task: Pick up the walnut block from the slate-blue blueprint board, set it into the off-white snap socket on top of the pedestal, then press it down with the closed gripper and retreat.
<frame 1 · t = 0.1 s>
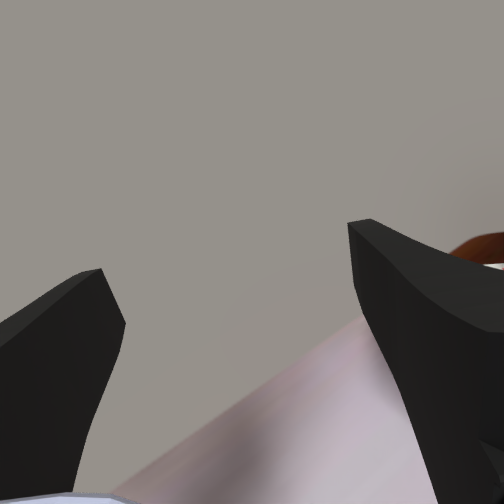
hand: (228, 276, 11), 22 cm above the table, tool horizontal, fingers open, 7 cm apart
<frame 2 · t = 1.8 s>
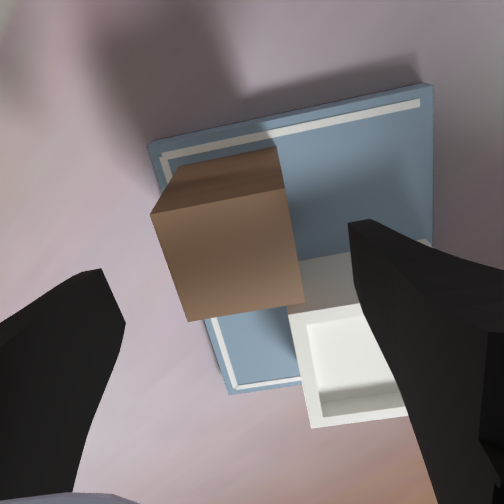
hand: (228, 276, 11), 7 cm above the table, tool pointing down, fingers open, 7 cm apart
walnut block: (237, 202, 17), point 1 cm above the table, touching blueprint board
blueprint board: (307, 261, 19), on the table
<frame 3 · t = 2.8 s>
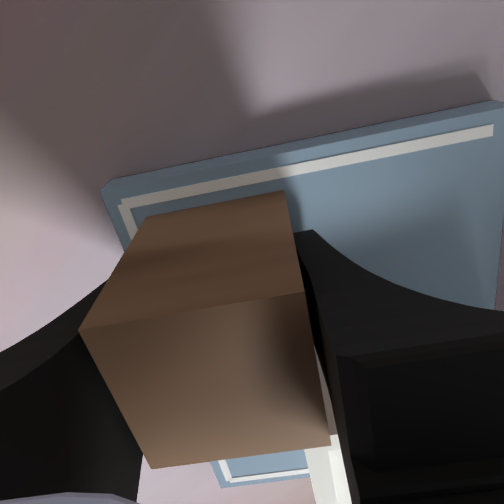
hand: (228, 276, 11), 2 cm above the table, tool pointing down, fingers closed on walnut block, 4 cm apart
walnut block: (229, 263, 12), point 1 cm above the table, touching blueprint board, gripper
blueprint board: (322, 330, 15), on the table
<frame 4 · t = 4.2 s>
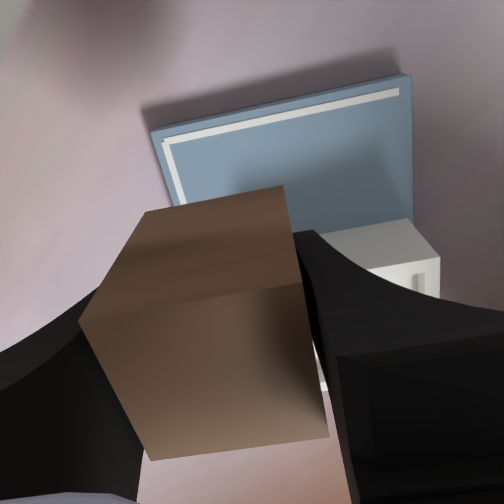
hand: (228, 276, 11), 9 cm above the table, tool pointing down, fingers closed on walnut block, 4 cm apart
walnut block: (229, 259, 12), point 8 cm above the table, touching gripper
blueprint board: (298, 241, 21), on the table
when the fingers open (6 cm above the table, at t = 5.7 s): walnut block drops 1 cm, resting on blueprint board.
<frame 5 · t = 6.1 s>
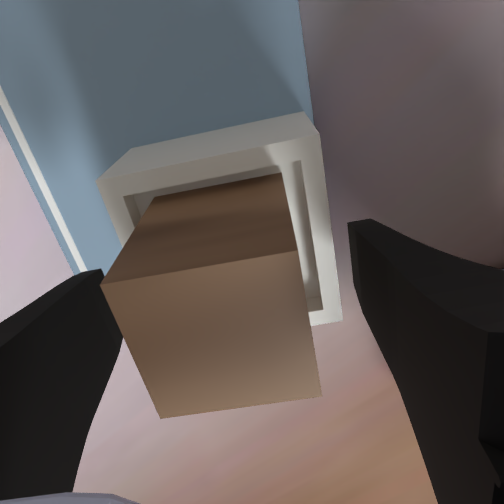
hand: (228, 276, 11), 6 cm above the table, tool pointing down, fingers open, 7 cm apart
walnut block: (231, 241, 13), point 4 cm above the table, touching blueprint board
blueprint board: (172, 153, 16), on the table
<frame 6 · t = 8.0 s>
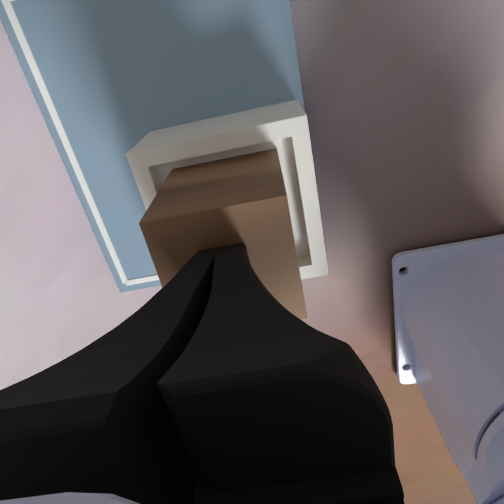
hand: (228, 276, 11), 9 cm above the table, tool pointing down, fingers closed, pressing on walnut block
walnut block: (235, 207, 16), point 4 cm above the table, touching blueprint board, gripper
blueprint board: (185, 136, 18), on the table
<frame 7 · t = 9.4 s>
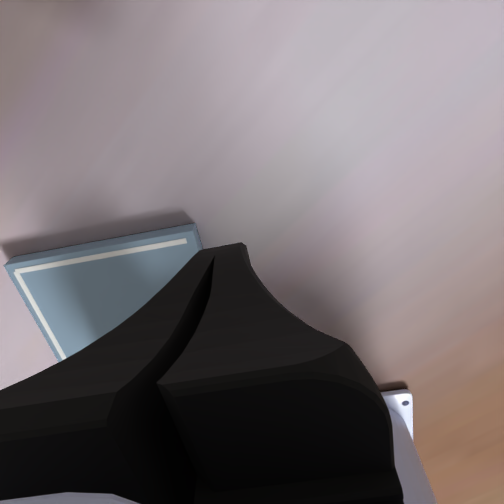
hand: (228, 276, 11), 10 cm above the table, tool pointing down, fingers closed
blueprint board: (141, 334, 26), on the table
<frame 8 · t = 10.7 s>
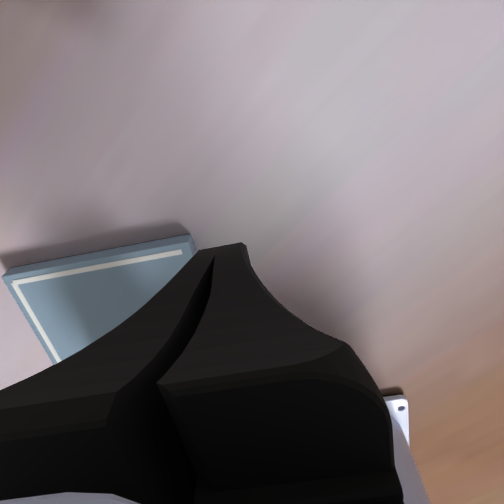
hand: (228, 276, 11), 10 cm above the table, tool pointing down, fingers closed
blueprint board: (139, 343, 26), on the table
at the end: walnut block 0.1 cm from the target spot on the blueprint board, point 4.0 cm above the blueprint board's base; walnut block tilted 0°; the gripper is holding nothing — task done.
